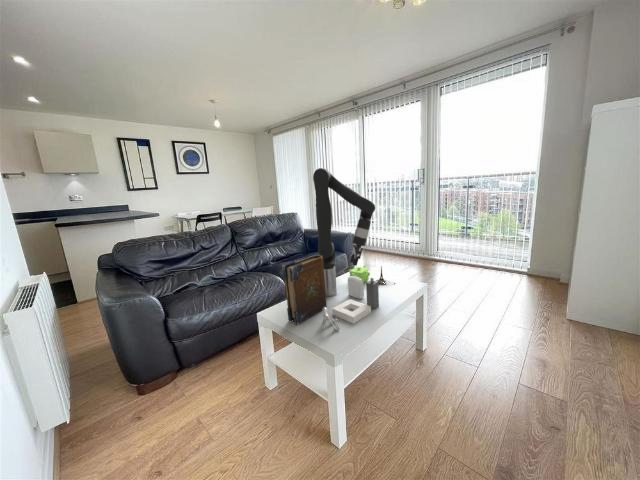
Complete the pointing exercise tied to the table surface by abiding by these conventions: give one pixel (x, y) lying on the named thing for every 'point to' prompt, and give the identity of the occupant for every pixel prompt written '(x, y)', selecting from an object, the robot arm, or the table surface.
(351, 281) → the photo printer
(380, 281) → the eiffel tower figurine
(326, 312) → the portable electronic device stand
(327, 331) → the table surface
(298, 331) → the table surface
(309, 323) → the table surface
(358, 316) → the socket
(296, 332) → the table surface
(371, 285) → the plug
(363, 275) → the teapot
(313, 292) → the decorative book
